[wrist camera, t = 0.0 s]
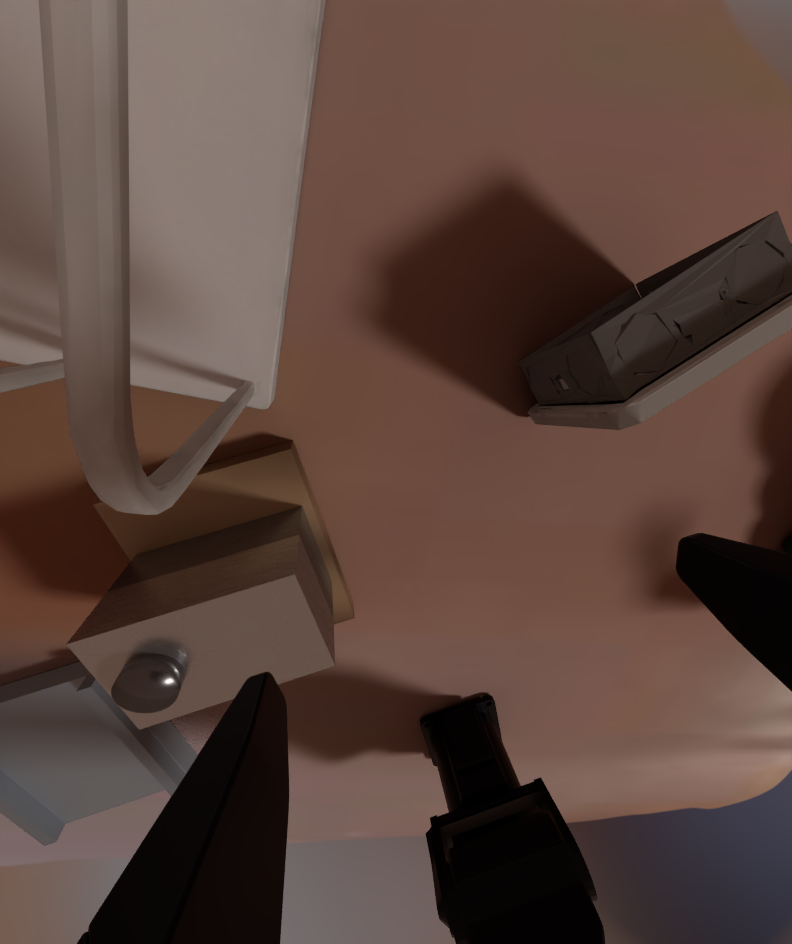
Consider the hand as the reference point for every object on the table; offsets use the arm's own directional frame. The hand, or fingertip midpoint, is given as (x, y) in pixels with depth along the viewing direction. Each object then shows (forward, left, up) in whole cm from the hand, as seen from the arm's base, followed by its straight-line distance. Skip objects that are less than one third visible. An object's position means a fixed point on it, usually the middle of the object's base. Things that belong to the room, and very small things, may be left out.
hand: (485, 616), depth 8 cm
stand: (-5, +10, -15) cm, 19 cm away
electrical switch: (+2, -12, -15) cm, 19 cm away
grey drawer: (-5, +10, -13) cm, 17 cm away
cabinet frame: (-15, +25, -15) cm, 33 cm away
